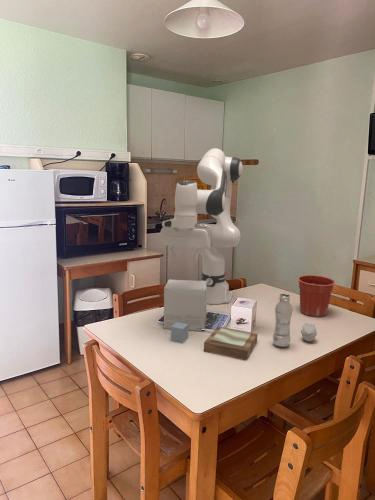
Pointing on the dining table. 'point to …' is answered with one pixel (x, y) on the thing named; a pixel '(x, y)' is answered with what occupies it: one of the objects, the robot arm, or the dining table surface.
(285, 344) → the plastic bottle
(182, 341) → the slate block
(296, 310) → the dining table surface
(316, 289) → the flower pot
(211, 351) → the walnut stand
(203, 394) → the dining table surface
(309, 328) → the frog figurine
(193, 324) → the supplement box
